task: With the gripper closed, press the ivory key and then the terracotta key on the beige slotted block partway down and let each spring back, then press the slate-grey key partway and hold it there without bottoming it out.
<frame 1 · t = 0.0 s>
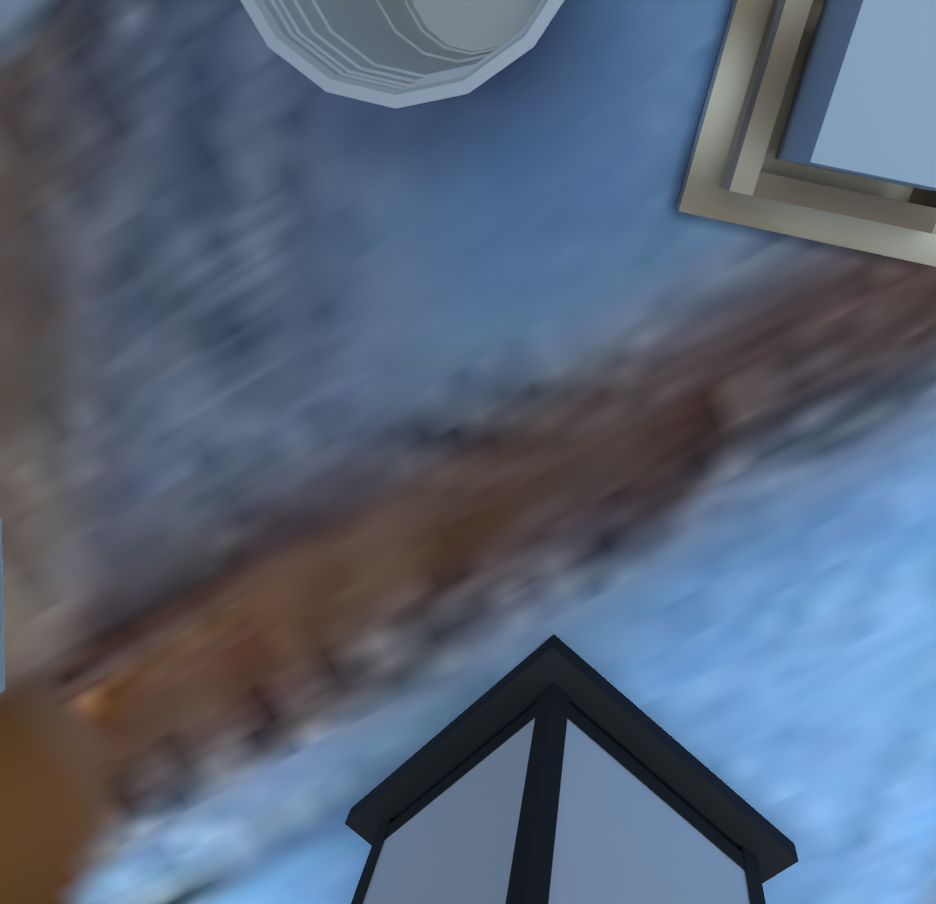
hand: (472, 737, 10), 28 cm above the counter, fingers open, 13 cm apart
lantern: (561, 822, 46), on the counter
slate key: (902, 90, 25), point 7 cm above the counter, slide at 0.0 cm
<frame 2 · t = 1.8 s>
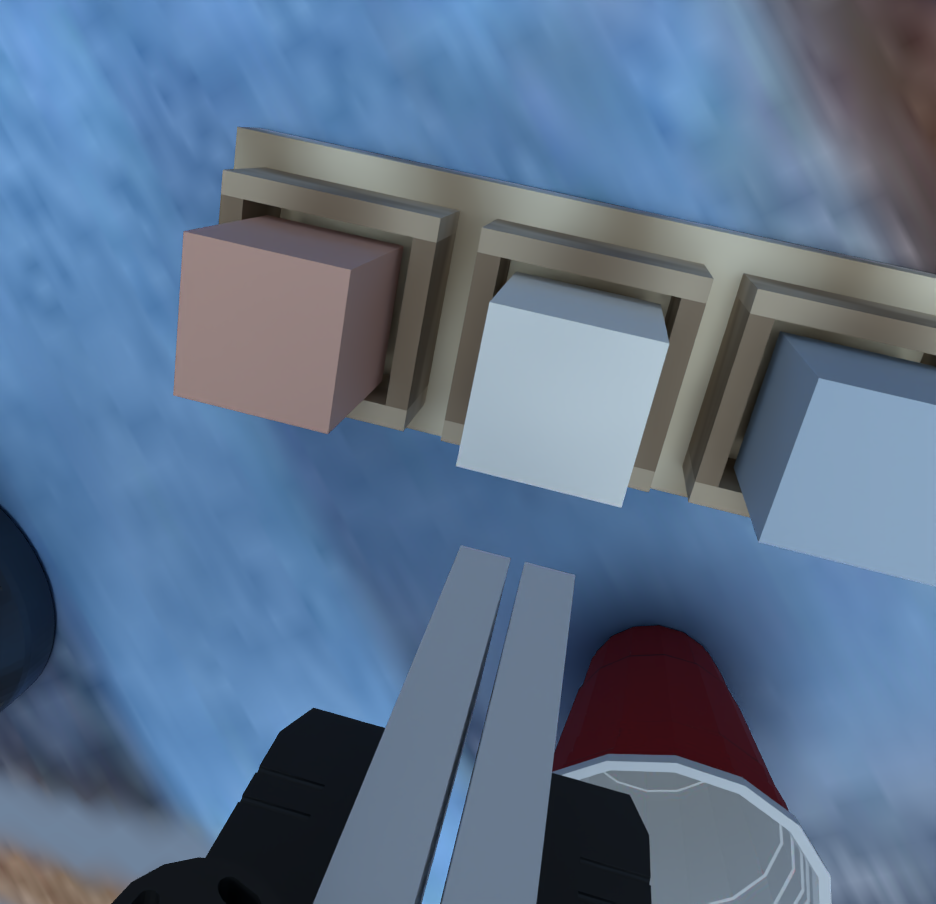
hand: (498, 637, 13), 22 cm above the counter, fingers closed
plastic cup: (648, 678, 38), on the counter
ivory key: (564, 380, 26), point 7 cm above the counter, slide at 0.0 cm
terracotta key: (295, 316, 27), point 7 cm above the counter, slide at 0.0 cm
beige slotted block: (577, 331, 33), on the counter
slate key: (851, 448, 26), point 7 cm above the counter, slide at 0.0 cm
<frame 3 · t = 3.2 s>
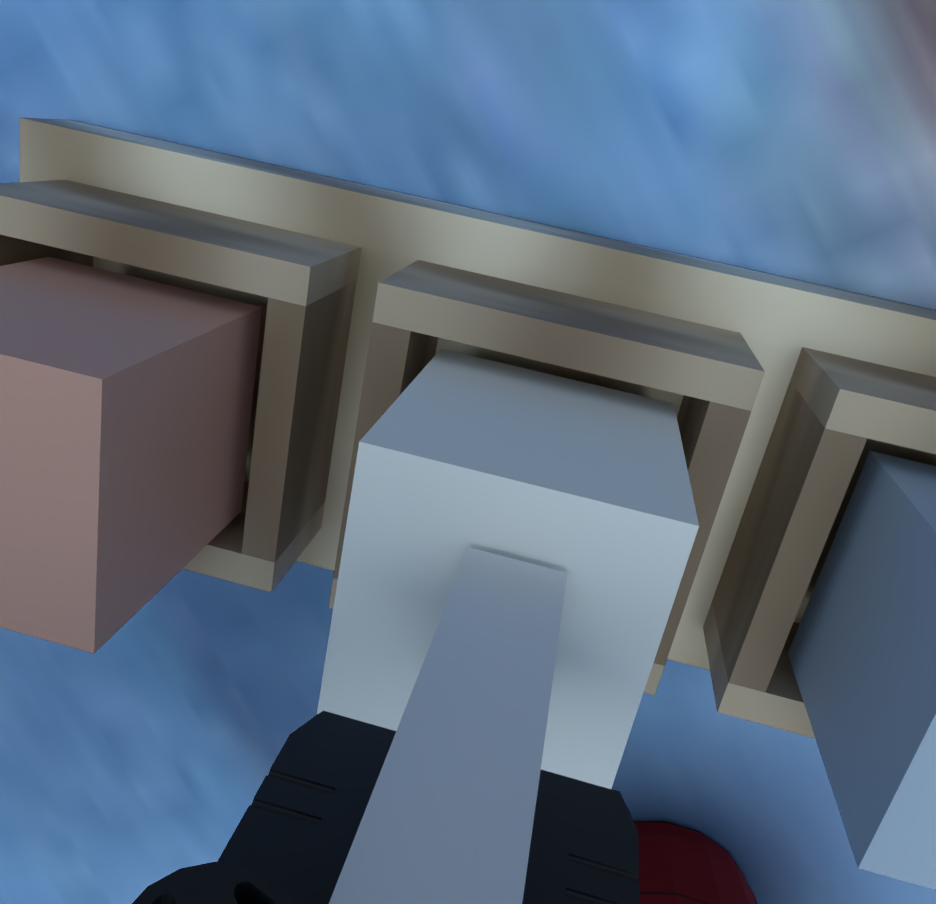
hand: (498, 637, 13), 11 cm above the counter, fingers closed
plastic cup: (651, 886, 28), on the counter
ivory key: (513, 542, 16), point 7 cm above the counter, slide at 0.1 cm, touching gripper
terracotta key: (68, 430, 16), point 7 cm above the counter, slide at 0.0 cm
beige slotted block: (546, 420, 23), on the counter
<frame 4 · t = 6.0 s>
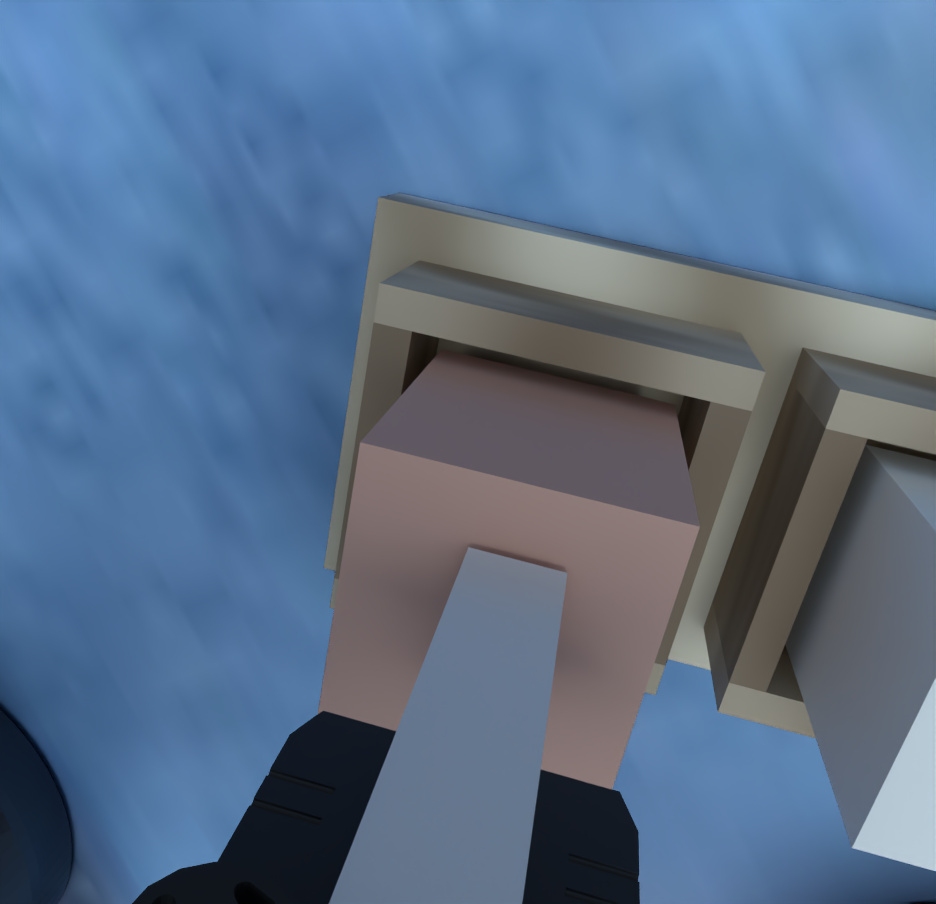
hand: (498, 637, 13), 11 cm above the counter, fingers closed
terracotta key: (514, 542, 16), point 7 cm above the counter, slide at 0.0 cm, touching gripper
beige slotted block: (884, 502, 22), on the counter
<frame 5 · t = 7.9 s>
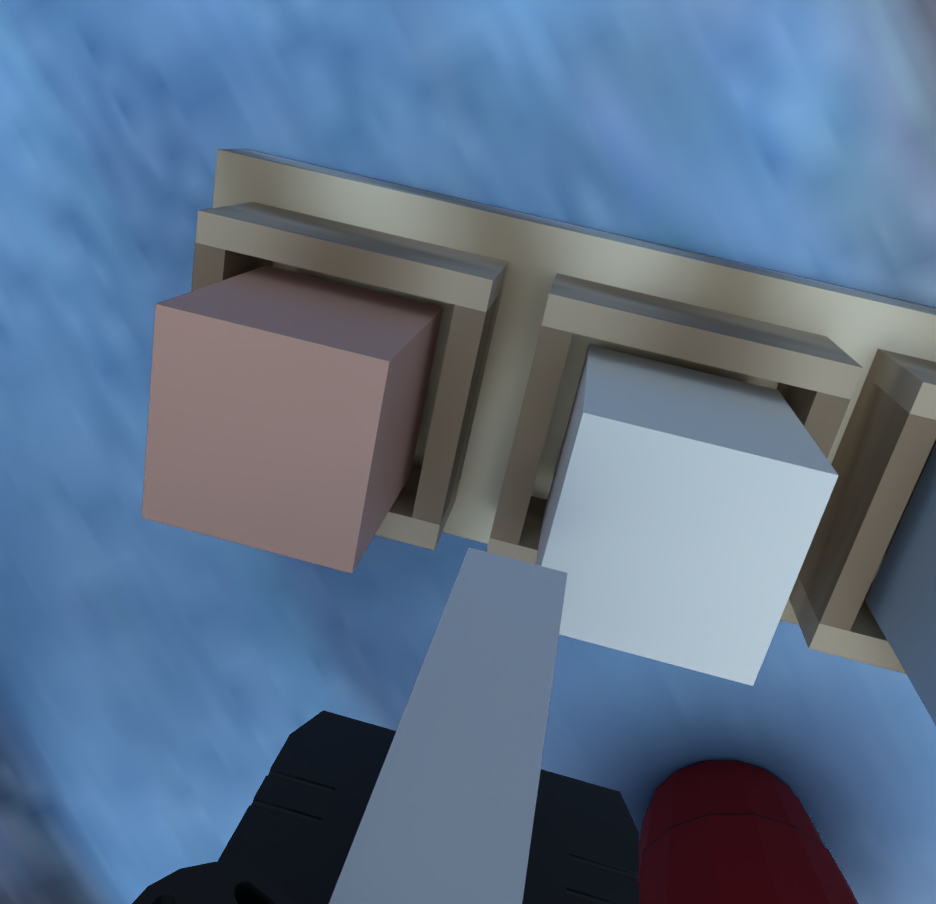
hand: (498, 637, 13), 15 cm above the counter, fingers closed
plastic cup: (717, 818, 32), on the counter
ivory key: (662, 497, 20), point 7 cm above the counter, slide at 0.4 cm
terracotta key: (304, 404, 21), point 7 cm above the counter, slide at 0.6 cm
beige slotted block: (648, 409, 26), on the counter
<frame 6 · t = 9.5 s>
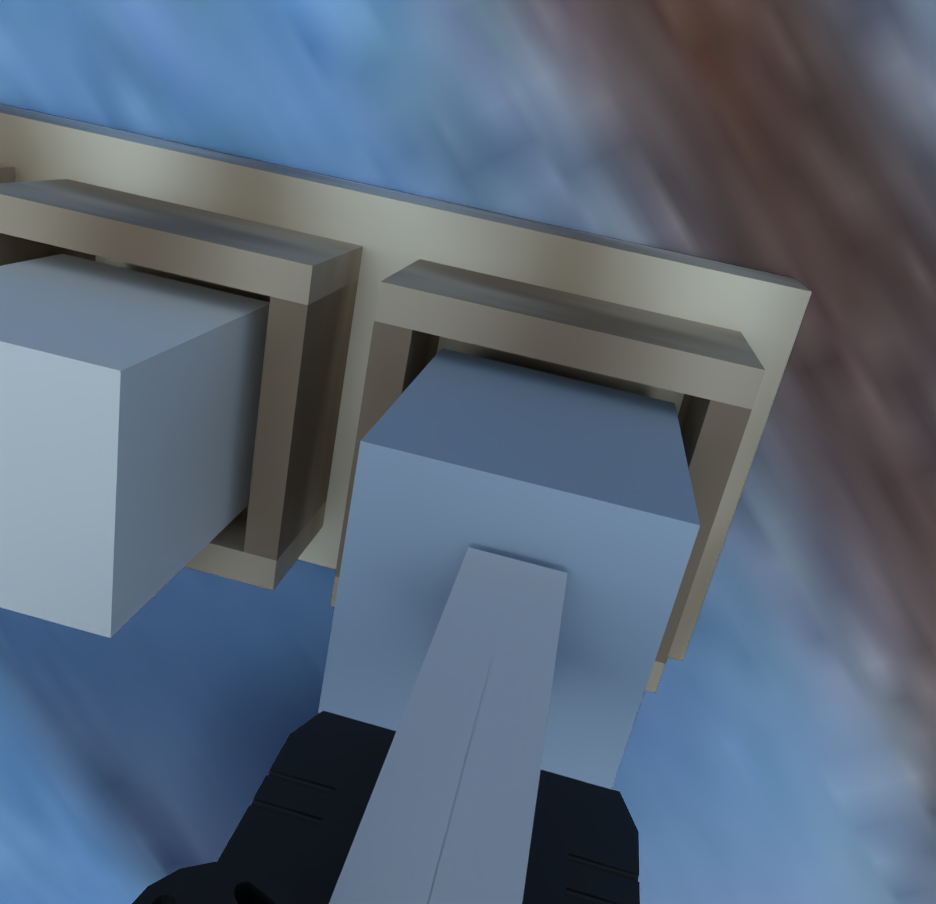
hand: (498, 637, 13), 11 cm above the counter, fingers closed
ivory key: (83, 422, 17), point 7 cm above the counter, slide at 0.4 cm
beige slotted block: (234, 344, 23), on the counter
slate key: (514, 541, 16), point 7 cm above the counter, slide at 0.0 cm, touching gripper
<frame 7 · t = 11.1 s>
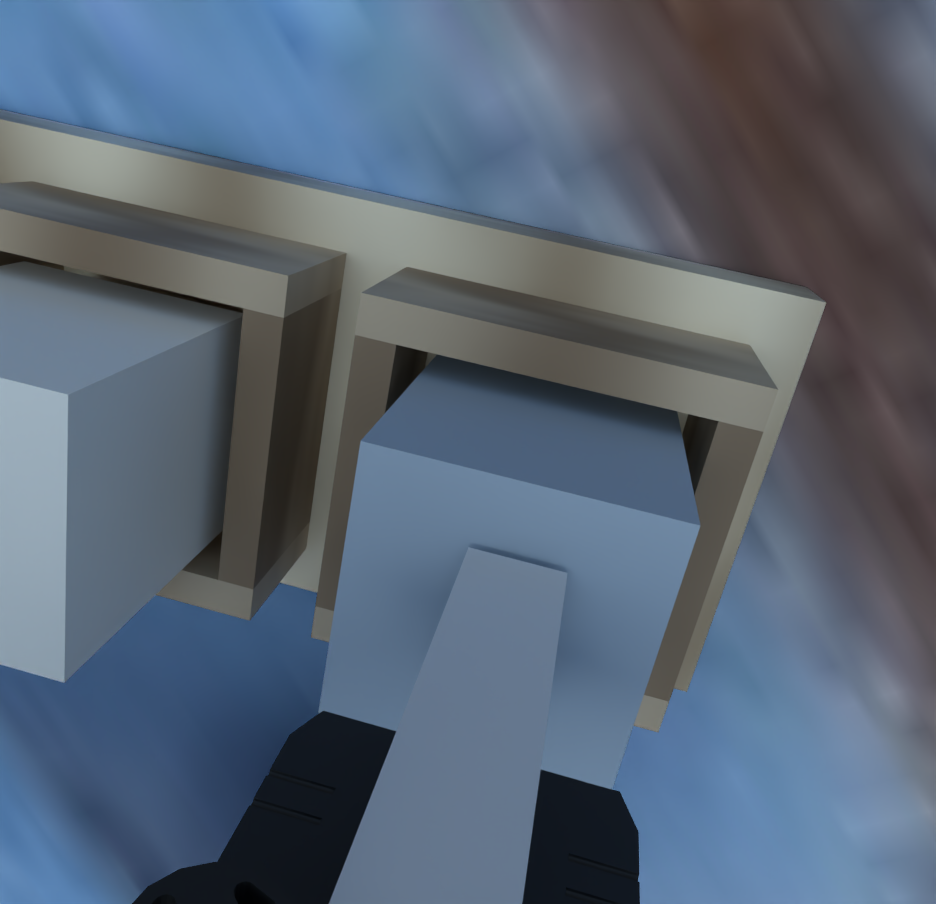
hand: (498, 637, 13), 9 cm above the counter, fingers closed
ivory key: (41, 444, 16), point 7 cm above the counter, slide at 0.4 cm
beige slotted block: (213, 355, 22), on the counter
slate key: (515, 541, 16), point 6 cm above the counter, slide at 1.3 cm, touching gripper
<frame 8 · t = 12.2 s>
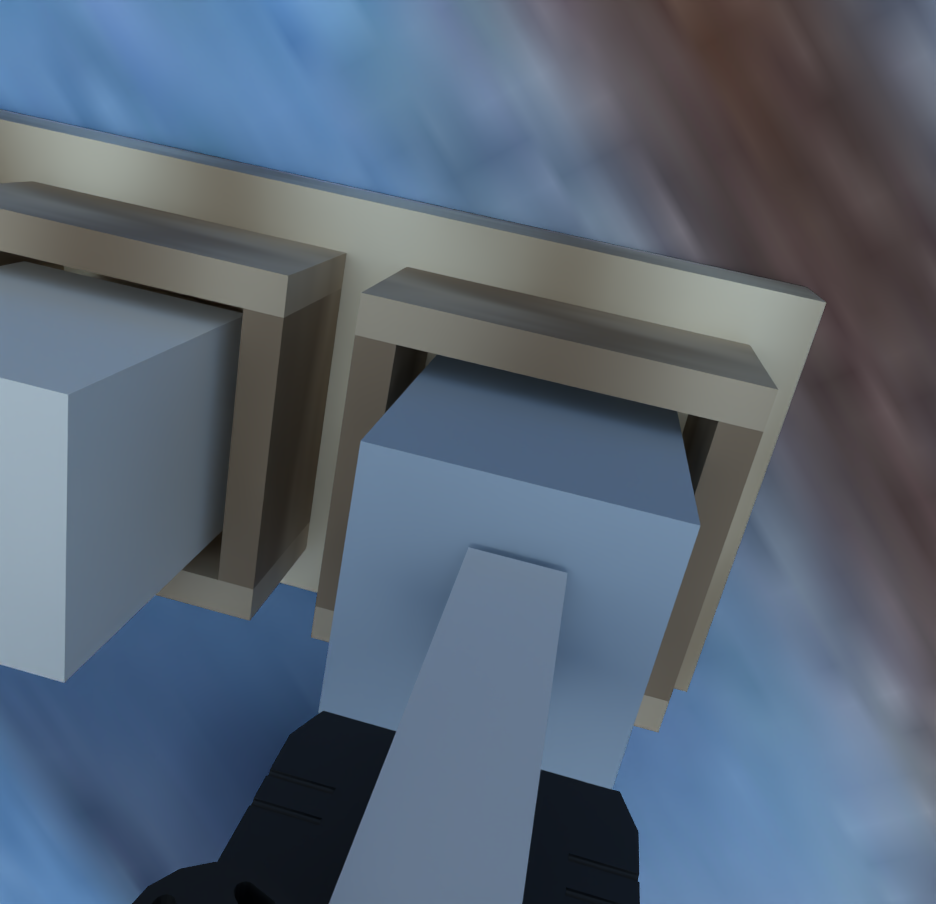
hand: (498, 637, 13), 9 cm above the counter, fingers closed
ivory key: (41, 444, 16), point 7 cm above the counter, slide at 0.4 cm
beige slotted block: (213, 355, 22), on the counter
slate key: (515, 541, 16), point 6 cm above the counter, slide at 1.3 cm, touching gripper
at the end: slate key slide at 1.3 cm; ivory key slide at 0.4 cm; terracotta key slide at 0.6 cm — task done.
